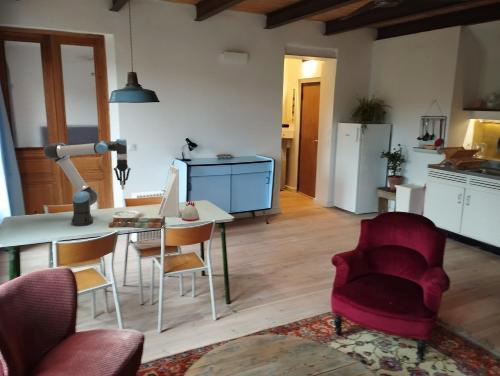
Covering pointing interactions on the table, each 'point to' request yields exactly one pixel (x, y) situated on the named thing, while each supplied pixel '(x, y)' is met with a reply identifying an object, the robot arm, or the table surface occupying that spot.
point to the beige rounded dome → (190, 212)
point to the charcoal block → (143, 221)
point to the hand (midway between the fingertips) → (122, 189)
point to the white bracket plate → (171, 196)
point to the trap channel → (134, 221)
